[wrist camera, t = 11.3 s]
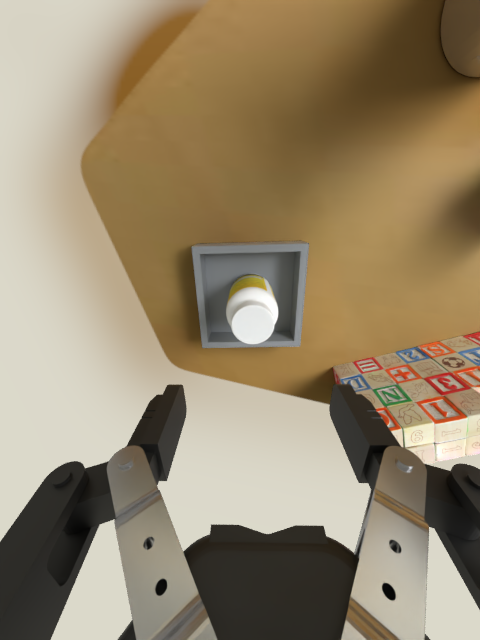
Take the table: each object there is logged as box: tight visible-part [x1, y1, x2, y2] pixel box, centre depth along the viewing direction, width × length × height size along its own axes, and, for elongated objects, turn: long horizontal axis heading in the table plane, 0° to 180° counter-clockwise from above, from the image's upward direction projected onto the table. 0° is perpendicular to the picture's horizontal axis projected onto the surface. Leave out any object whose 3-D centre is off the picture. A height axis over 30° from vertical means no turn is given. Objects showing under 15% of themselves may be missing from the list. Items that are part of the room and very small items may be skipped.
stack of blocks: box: [333, 332, 480, 464], centre depth 29 cm, size 21×6×12 cm, turn 108°
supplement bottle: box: [226, 273, 278, 344], centre depth 25 cm, size 5×5×10 cm
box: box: [192, 241, 309, 348], centre depth 29 cm, size 13×13×4 cm
